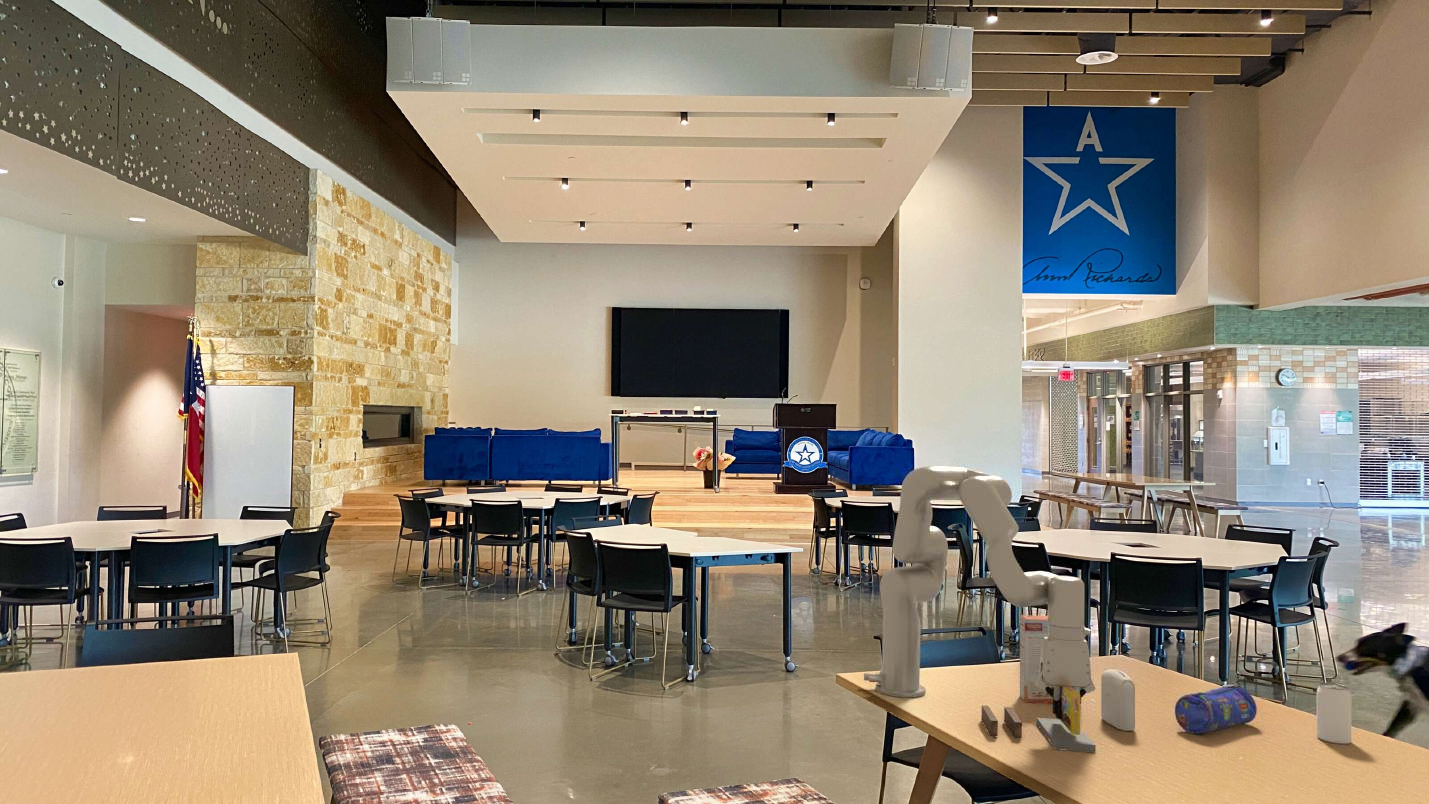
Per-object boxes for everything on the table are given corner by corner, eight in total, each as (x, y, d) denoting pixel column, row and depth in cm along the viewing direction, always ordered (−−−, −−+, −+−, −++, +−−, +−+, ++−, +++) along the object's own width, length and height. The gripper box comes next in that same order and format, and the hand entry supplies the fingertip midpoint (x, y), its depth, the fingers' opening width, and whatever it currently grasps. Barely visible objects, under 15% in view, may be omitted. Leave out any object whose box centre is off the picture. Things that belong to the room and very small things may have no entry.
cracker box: (1074, 699, 234) (1075, 616, 235) (1081, 705, 228) (1082, 620, 229) (1018, 696, 235) (1019, 613, 236) (1023, 702, 229) (1025, 617, 230)
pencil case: (1223, 717, 222) (1223, 677, 223) (1260, 726, 215) (1260, 685, 215) (1171, 730, 210) (1172, 687, 211) (1209, 740, 203) (1209, 696, 203)
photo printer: (1098, 718, 217) (1098, 665, 218) (1116, 718, 218) (1116, 665, 218) (1119, 731, 207) (1119, 676, 208) (1137, 732, 207) (1138, 676, 208)
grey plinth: (1055, 749, 193) (1055, 742, 193) (1036, 724, 211) (1036, 717, 211) (1095, 752, 192) (1095, 745, 192) (1072, 726, 210) (1072, 720, 210)
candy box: (1051, 712, 209) (1053, 676, 209) (1061, 713, 208) (1062, 676, 209) (1070, 734, 193) (1071, 694, 193) (1080, 735, 192) (1082, 695, 193)
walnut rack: (990, 736, 200) (990, 720, 201) (981, 720, 212) (981, 705, 212) (1021, 738, 200) (1022, 722, 200) (1010, 722, 211) (1011, 707, 212)
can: (1346, 737, 208) (1346, 684, 208) (1355, 746, 202) (1355, 691, 202) (1313, 734, 210) (1313, 680, 210) (1321, 742, 204) (1321, 687, 204)
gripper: (1098, 631, 205) (1097, 715, 204) (1024, 628, 207) (1023, 711, 206) (1108, 638, 198) (1108, 725, 197) (1031, 634, 200) (1030, 720, 199)
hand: (1064, 717), depth 202 cm, fingers closed on candy box, 2 cm apart
